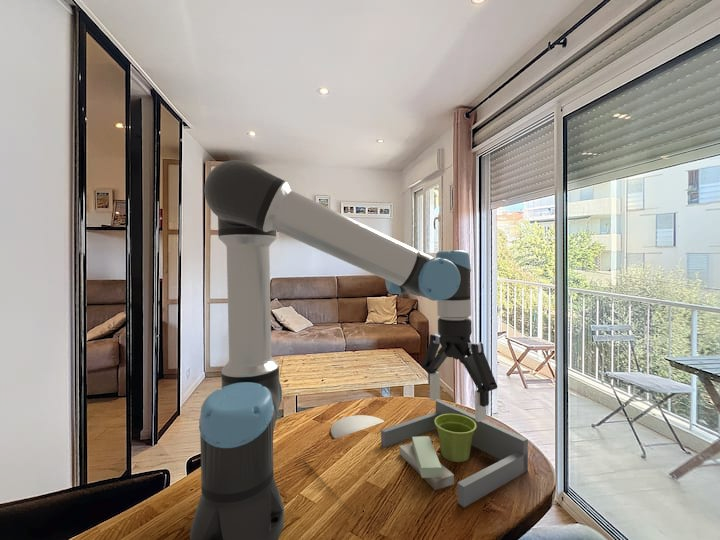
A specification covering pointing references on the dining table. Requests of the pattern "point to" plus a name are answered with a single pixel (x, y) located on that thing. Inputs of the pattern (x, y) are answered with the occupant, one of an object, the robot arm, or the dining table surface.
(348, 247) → the robot arm
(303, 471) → the dining table surface
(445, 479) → the block
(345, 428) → the mat
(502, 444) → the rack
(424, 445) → the offcut top
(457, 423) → the plant pot
